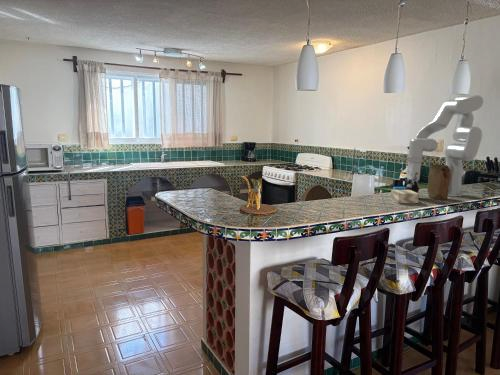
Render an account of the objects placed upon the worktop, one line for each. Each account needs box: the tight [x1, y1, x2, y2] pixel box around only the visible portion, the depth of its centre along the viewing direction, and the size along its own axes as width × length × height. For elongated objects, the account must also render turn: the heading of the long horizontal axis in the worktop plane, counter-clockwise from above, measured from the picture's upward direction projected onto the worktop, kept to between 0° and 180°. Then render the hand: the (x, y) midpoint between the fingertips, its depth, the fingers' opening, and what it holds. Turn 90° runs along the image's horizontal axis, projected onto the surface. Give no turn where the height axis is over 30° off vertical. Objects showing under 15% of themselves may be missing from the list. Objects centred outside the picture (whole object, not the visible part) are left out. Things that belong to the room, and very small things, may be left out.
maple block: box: [390, 189, 420, 204], centre depth 206 cm, size 11×11×6 cm
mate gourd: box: [405, 174, 420, 193], centre depth 216 cm, size 8×8×15 cm
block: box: [427, 164, 451, 201], centre depth 214 cm, size 11×8×20 cm
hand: (411, 189), depth 217 cm, fingers closed on mate gourd, 7 cm apart
